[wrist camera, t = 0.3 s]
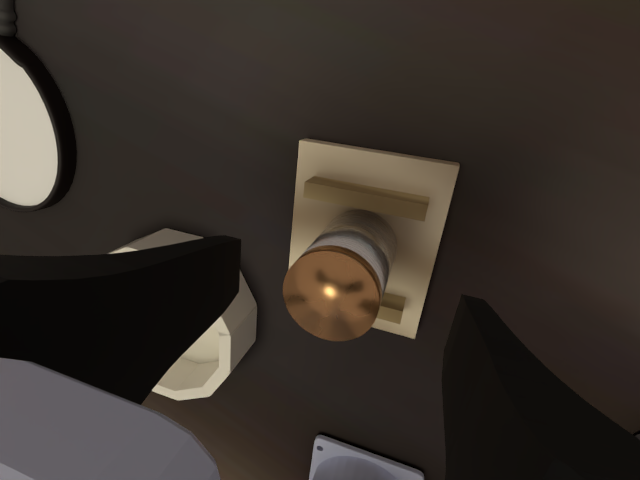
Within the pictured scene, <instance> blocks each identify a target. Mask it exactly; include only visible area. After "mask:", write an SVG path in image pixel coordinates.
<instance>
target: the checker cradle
mask: <svg viewBox="0 0 640 480" xmlns="http://www.w3.org/2000/svg"><path fill="white" fill-rule="evenodd" d="M459 167H460V165H459V163H457V162H451V161H445V160H439V159H432V158H426V157H420V156H413V155H407V154H401V153H395V152H388V151H382V150H376V149H370V148H363V147H357V146H351V145H345V144H338V143H332V142H326V141H319V140H313V139H307V138H305V139H302V140H299V151H298V163H297V175H296V187H295V199H294V211H293V223H292V235H291V247H290V258H289V269H290V267H291V266H292V265H293V264H294V263H295V262H296V260H297V259H298V258H299V257H300V256H301V255H302V254H303V253H304V252H305V250H306V249H307V248H308V247H309V246H310V245H311V244H312V243H313V242H314V241H315V239H316V238H317V237H318V236H319V235H320V234H321V233H322V232H323V231H324V229H325V228H326V227H327V226H328V225H329V224H330V223H331V222H332V221H333V220H334V218H336V217H337V216H338V215H340V214H341V213H344V212H346V211H350V210H356V209H358V210H367V211H371V212H373V213H375V214H377V215H379V216H381V217H382V218H383V219H384V220H385V221H386V222H387V223H388V224H389V225H390V226H391V228H392V229H393V231H394V234H395V236H396V240H397V253H396V256H395V260H394V263H393V266H392V269H391V273H390V276H389V279H388V282H387V285H386V289H385V292H384V295H383V298H382V302H381V305H380V308H379V311H378V315H377V318H376V320H375V322H374V324H373V325H372V326H371V327H373V328H377V329H381V330H384V331H388V332H391V333H395V334H399V335H402V336H406V337H409V338H413V339H415V335H416V332H417V328H418V324H419V320H420V316H421V312H422V309H423V305H424V301H425V297H426V293H427V289H428V286H429V282H430V278H431V274H432V270H433V267H434V263H435V259H436V255H437V251H438V247H439V244H440V240H441V236H442V232H443V228H444V225H445V221H446V217H447V213H448V209H449V205H450V202H451V198H452V194H453V190H454V186H455V182H456V179H457V175H458V171H459Z"/></svg>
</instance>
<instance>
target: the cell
mask: <svg viewBox="0 0 640 480" xmlns="http://www.w3.org/2000/svg"><path fill="white" fill-rule="evenodd" d="M396 253H397V240H396V236H395V234H394V231H393V229H392V228H391V226H390V225H389V224H388V223H387V222H386V221H385V220H384V219H383V218H382V217H381V216H379V215H377V214H375V213H373V212H371V211H367V210H358V209H356V210H350V211H346V212H344V213H341V214H340V215H338V216H337V217H336V218H334V220H333V221H332V222H331V223H330V224H329V225H328V226H327V227H326V228H325V229H324V231H323V232H322V233H321V234H320V235H319V236H318V237H317V238H316V239H315V241H314V242H313V243H312V244H311V245H310V246H309V247H308V248H307V249H306V250H305V252H304V253H303V254H302V255H301V256H300V257H299V258H298V259H297V260H296V262H295V263H294V264H293V265H292V266H291V267H290V269H289V270H288V272H287V274H286V276H285V279H284V283H283V296H284V301H285V304H286V307H287V309H288V311H289V313H290V314H291V316H292V317H293V319H294V320H295V321H296V322H297V323H298V324H299V325H300V326H301V327H302V328H303V329H305V330H306V331H307V332H309V333H311V334H313V335H315V336H317V337H319V338H322V339H326V340H330V341H348V340H352V339H355V338H357V337H359V336H361V335H363V334H364V333H365V332H367V331H368V330H369V329H370V328H371V326H372V325H373V324H374V322H375V320H376V318H377V315H378V311H379V308H380V305H381V302H382V298H383V295H384V292H385V289H386V285H387V282H388V279H389V276H390V273H391V269H392V266H393V263H394V260H395V256H396Z"/></svg>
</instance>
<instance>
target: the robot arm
mask: <svg viewBox="0 0 640 480" xmlns="http://www.w3.org/2000/svg"><path fill="white" fill-rule="evenodd" d="M240 255H241V239H237V238H233V237H229V236H213V237H207V238H201V239H196V240H191V241H186V242H181V243H176V244H171V245H166V246H160V247H154V248H148V249H143V250H137V251H130V252H122V253H112V254H101V255H82V256H13V255H0V480H221V479H220V475H219V472H218V468H217V465H216V462H215V459H214V458H213V457H212V456H211V454H210V453H209V452H208V451H207V450H206V448H205V447H204V446H203V445H202V444H201V442H200V441H199V440H198V439H197V438H196V436H195V435H194V434H193V433H192V432H191V431H189V430H187V429H186V428H184V427H183V426H181V425H179V424H178V423H176V422H175V421H173V420H171V419H170V418H168V417H166V416H165V415H163V414H162V413H159V412H157V411H154V410H152V409H149V408H147V407H144V406H142V405H141V404H142V403H143V401H144V400H145V399H146V397H147V396H148V395H149V393H150V392H151V391H152V389H153V388H154V387H155V386H156V385H157V383H158V382H159V381H160V380H161V378H162V377H163V376H164V375H165V373H166V372H167V371H168V370H169V368H170V367H171V366H172V365H173V364H174V363H175V362H176V361H177V360H178V359H179V357H180V356H182V355H183V354H184V353H185V352H186V351H187V350H188V349H189V348H190V347H191V346H192V345H193V344H194V343H195V342H196V341H197V340H198V339H199V338H200V337H201V336H202V335H203V334H204V333H205V332H206V331H207V330H208V329H209V328H210V327H211V326H212V325H213V324H214V322H215V321H216V320H217V319H218V318H219V317H220V316H221V315H222V314H223V313H224V312H225V311H226V309H227V308H228V307H229V305H230V304H231V303H232V301H233V300H234V298H235V297H236V295H237V294H238V293H239V283H240ZM442 394H443V412H444V429H445V446H446V477H445V480H640V439H638V438H637V437H635V436H634V435H632V434H631V433H629V432H628V431H626V430H625V429H623V428H622V427H620V426H619V425H618V424H616V423H615V422H613V421H612V420H611V419H609V418H608V417H607V416H605V415H604V414H603V413H601V412H600V411H598V410H597V409H596V408H594V407H593V406H592V405H590V404H589V403H588V402H586V401H585V400H584V399H583V398H581V397H580V396H579V395H578V394H576V393H575V392H574V391H573V390H572V389H570V388H569V387H568V386H567V385H566V384H565V383H563V382H562V381H561V380H560V379H559V378H557V377H556V376H555V375H554V374H553V373H552V372H551V371H550V370H549V369H548V368H546V367H545V366H544V365H543V364H542V363H541V362H540V361H539V360H538V359H537V358H536V357H535V356H534V355H533V354H532V353H531V352H530V351H529V350H528V349H527V348H526V347H525V346H524V344H523V343H522V342H521V341H520V340H519V339H518V338H517V337H516V336H515V335H514V334H513V332H512V331H511V330H510V329H509V328H508V327H507V326H506V324H505V323H504V322H503V321H502V320H501V319H500V317H499V316H498V315H497V314H496V313H495V311H494V310H493V309H492V308H491V307H490V306H489V304H488V303H487V302H486V301H485V300H483V299H479V298H475V297H471V296H467V295H463V294H462V295H461V299H460V302H459V305H458V308H457V311H456V314H455V318H454V321H453V324H452V327H451V330H450V334H449V337H448V340H447V343H446V346H445V349H444V358H443V370H442ZM309 480H424V474H423V473H422V472H421V471H420V470H418V469H415V468H412V467H409V466H406V465H404V464H401V463H398V462H395V461H393V460H390V459H387V458H384V457H382V456H379V455H376V454H373V453H371V452H368V451H365V450H362V449H360V448H357V447H354V446H351V445H348V444H346V443H343V442H340V441H337V440H335V439H332V438H329V437H326V436H324V435H317V436H316V438H315V441H314V448H313V455H312V461H311V468H310V475H309Z"/></svg>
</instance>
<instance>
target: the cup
mask: <svg viewBox="0 0 640 480" xmlns="http://www.w3.org/2000/svg"><path fill="white" fill-rule="evenodd" d="M201 238H203V237H200V236H196V235H192V234H188V233H184V232H180V231H176V230H172V229H168V228H166V229H162V230H160V231H157V232H155V233H152V234H150V235H147V236H145V237H142V238H140V239H137V240H135V241H133V242H131V243H129V244H126V245H124V246H122V247H120V248H118V249H116V250H114V251H112V252H109V253H107V254H112V253H122V252H130V251H137V250H143V249H148V248H154V247H160V246H166V245H171V244H176V243H181V242H186V241H191V240H196V239H201ZM256 305H257V303H256V301H255V299H254V297H253V295H252V293H251V291H250V289H249V287H248V285H247V283H246V281H245V279H244V277H243V275H242V273H241V271H240V283H239V293H238V294H237V295H236V297H235V298H234V300H233V301H232V303H231V304H230V305H229V307H228V308H227V309H226V311H225V312H224V313H223V314H222V315H221V316H220V317H219V318H218V319H217V320H216V321H215V322H214V324H213V325H212V326H211V327H210V328H209V329H208V330H207V331H206V332H205V333H204V334H203V335H202V336H201V337H200V338H199V339H198V340H197V341H196V342H195V343H194V344H193V345H192V346H191V347H190V348H189V349H188V350H187V351H186V352H185V353H184V354H183V355H182V356H180V357H179V359H178V360H177V361H176V362H175V363H174V364H173V365H172V366H171V367H170V368H169V370H168V371H167V372H166V373H165V375H164V376H163V377H162V378H161V380H160V381H159V382H158V383H157V385H156V386H155V387H154V388H153V389H152V391H154V392H156V393H159V394H162V395H164V396H167V397H170V398H172V399H175V400H186V399H194V398H202V397H209V396H211V395H212V393H213V392H214V391H215V390H216V389H217V388H218V387H219V386H220V384H221V383H222V382H223V381H224V380H225V379H226V378H227V376H228V375H229V374H230V373H231V372H232V370H233V369H234V368H235V367H236V365H237V364H238V363H239V361H240V360H241V359H242V357H243V356H244V355H245V354H246V352H247V351H248V350H249V348H250V347H251V346H252V345H253V343H254V342H255V340H256V323H257V306H256Z"/></svg>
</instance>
